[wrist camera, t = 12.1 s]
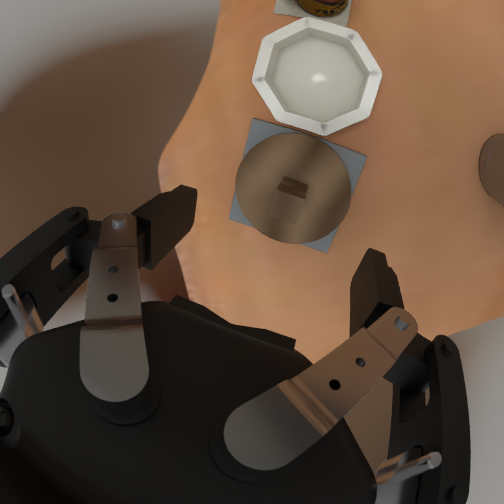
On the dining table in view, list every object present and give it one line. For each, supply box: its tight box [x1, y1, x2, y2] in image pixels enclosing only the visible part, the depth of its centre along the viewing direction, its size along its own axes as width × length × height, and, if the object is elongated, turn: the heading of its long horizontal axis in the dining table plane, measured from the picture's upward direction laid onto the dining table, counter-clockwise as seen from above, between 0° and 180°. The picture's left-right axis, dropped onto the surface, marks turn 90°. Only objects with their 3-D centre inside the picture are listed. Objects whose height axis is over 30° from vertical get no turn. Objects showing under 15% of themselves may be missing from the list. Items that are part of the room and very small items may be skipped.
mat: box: [229, 118, 367, 253], centre depth 33 cm, size 14×14×1 cm
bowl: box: [252, 17, 383, 136], centre depth 23 cm, size 12×12×5 cm
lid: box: [235, 133, 351, 244], centre depth 30 cm, size 14×14×6 cm
